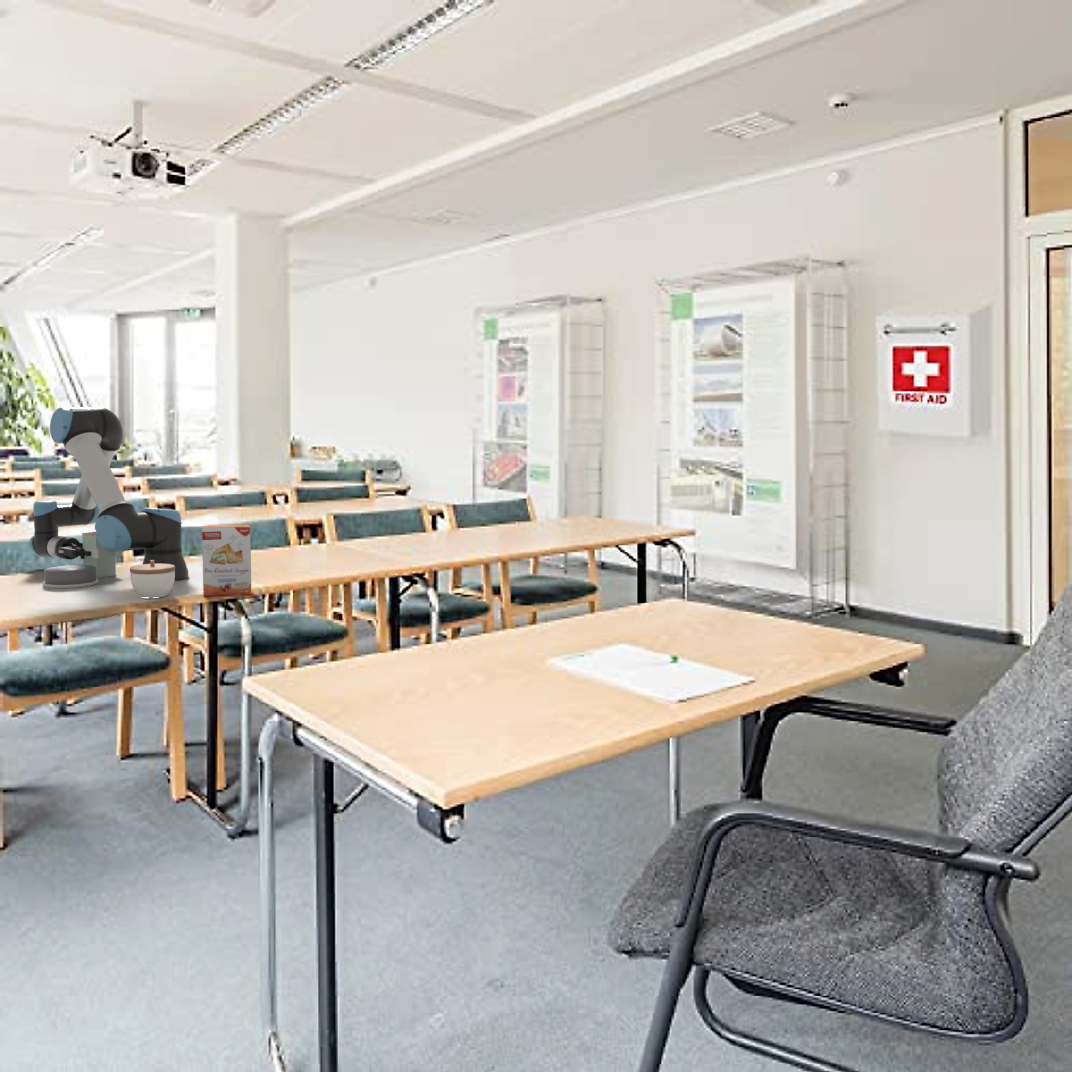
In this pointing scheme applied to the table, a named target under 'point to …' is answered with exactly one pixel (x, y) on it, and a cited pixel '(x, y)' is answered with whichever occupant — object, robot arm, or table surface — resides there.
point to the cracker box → (226, 560)
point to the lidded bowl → (152, 579)
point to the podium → (70, 576)
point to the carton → (106, 560)
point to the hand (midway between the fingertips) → (108, 552)
